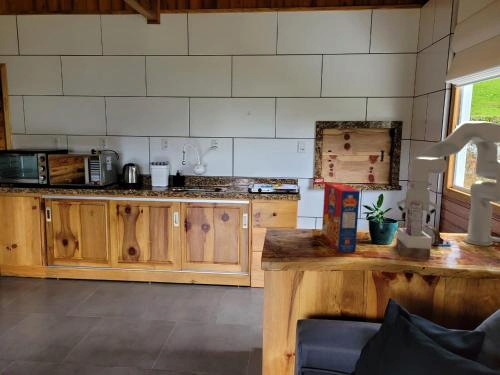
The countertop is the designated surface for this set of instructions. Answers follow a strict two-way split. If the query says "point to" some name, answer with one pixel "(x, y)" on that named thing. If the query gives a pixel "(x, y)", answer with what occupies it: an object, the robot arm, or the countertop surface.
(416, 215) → the candy bar box
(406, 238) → the tower top
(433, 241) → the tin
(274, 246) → the countertop surface
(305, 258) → the countertop surface
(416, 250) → the tower base
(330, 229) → the cereal box
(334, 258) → the countertop surface
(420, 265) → the countertop surface
